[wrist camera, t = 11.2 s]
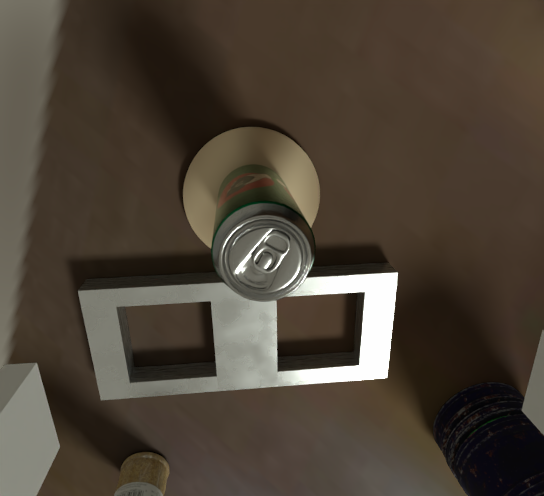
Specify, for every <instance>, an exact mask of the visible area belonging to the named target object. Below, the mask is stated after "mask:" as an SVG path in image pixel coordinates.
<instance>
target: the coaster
mask: <svg viewBox="0 0 544 496" xmlns="http://www.w3.org/2000/svg"><path fill="white" fill-rule="evenodd" d="M249 164H257V165H262V166H266V167H268V168H270V169H272V170H273V171H275V172H276V173H277V174H278V175H279V176H280V177H281V178H282V180H283V181H284V183H285V184H286V186H287V188H288V190H289V191H290V193H291V195H292V196H293V198H294V200H295V202H296V203H297V205H298V207H299V208H300V210H301V212H302V214H303V215H304V217H305V219H306V220H307V222H308V224H309V226H310V228H311V226H312V224H313V222H314V220H315V217H316V215H317V212H318V207H319V200H320V186H319V181H318V177H317V173H316V170H315V168H314V166H313V164H312V162H311V160H310V159H309V157H308V156H307V154H306V153H305V152H304V151H303V150H302V148H301V147H300V146H298V145H297V144H296V143H295V142H294V141H293V140H291V139H290V138H288V137H287V136H285V135H283V134H281V133H279V132H277V131H274V130H271V129H267V128H262V127H240V128H236V129H232V130H229V131H226V132H224V133H222V134H220V135H218V136H216V137H214V138H213V139H212V140H210V141H209V142H208V143H206V144H205V145H204V146H203V147H202V148H201V149H200V151H199V152H198V153H197V154H196V156H195V157H194V159H193V161H192V162H191V164H190V166H189V169H188V171H187V174H186V177H185V181H184V188H183V202H184V208H185V212H186V216H187V219H188V221H189V223H190V225H191V227H192V229H193V230H194V232H195V233H196V235H197V236H198V237H199V238H200V239H201V240H202V241H203V242H204V243H205V244H206V245H207V246H208V247H210V248H211V246H212V237H213V230H214V222H215V215H216V207H217V199H218V192H219V189H220V186H221V184H222V182H223V180H224V179H225V177H226V176H227V175H228V174H229V173H231V172H232V171H233V170H235V169H237V168H238V167H241V166H244V165H249Z"/></svg>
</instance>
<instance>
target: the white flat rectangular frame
mask: <svg viewBox="0 0 544 496" xmlns="http://www.w3.org/2000/svg"><path fill="white" fill-rule="evenodd" d="M397 277H398V272H397V271H396V270H395V269H394V268H393V267H392V266H391V264H390V263H389V262H388V263H369V264H351V265H333V266H315V267H311V269H310V271H309V273H308V275H307V277H306V279H305V281H304V282H303V283H302V284H301V286H300V287H299V288H298V289H297V290H295V291H294V292H293V293H291V294H290V295H288V296H304V295H320V294H337V293H353V292H357V301H356V316H355V331H354V347H353V352H340V353H326V354H312V355H299V356H285V357H277V309H276V300H275V301H269V302H259V301H253V300H249V299H246V298H244V297H242V296H240V295H238V294H237V293H235V292H234V291H233V290H232V289H231V288H229V287H228V286H227V285H226V284H225V283H224V282H223V281H222V280H221V279H220V277H219V276H218V274H217V273H216V272H205V273H187V274H169V275H151V276H132V277H114V278H96V279H86V281H85V282H84V283H83V285H82V286H81V287H80V288H79V290H78V295H79V299H80V304H81V309H82V313H83V318H84V323H85V327H86V332H87V337H88V342H89V346H90V351H91V356H92V360H93V365H94V370H95V374H96V379H97V384H98V389H99V393H100V398H101V400H111V399H124V398H137V397H149V396H162V395H175V394H188V393H200V392H213V391H226V390H239V389H251V388H264V387H277V386H290V385H302V384H315V383H328V382H341V381H353V380H366V379H379V378H387V373H388V363H389V354H390V344H391V335H392V325H393V316H394V306H395V296H396V287H397ZM286 297H287V296H286ZM205 301H211V309H212V322H213V334H214V346H215V359H216V362H202V363H189V364H175V365H161V366H147V367H135V364H134V358H133V352H132V346H131V340H130V334H129V328H128V322H127V317H126V311H125V306H139V305H155V304H172V303H188V302H205Z"/></svg>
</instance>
